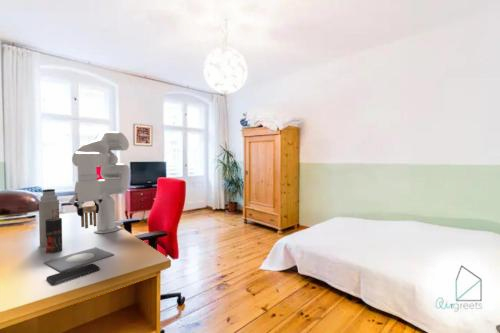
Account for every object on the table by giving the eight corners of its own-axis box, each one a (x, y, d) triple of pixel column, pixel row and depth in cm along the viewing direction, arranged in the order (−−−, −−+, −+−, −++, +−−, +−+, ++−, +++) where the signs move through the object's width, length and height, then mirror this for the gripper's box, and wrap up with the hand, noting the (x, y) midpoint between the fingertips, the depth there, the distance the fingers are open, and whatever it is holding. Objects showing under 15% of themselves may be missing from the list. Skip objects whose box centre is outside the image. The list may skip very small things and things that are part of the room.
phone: (100, 268, 94) (52, 283, 82) (100, 271, 94) (52, 286, 82) (92, 263, 99) (45, 276, 87) (92, 265, 99) (45, 279, 87)
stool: (92, 223, 125) (92, 204, 124) (99, 225, 121) (98, 206, 121) (78, 226, 119) (77, 206, 119) (84, 229, 116) (84, 208, 115)
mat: (95, 248, 117) (95, 247, 117) (113, 255, 109) (113, 253, 109) (44, 263, 100) (44, 261, 100) (60, 272, 92) (60, 270, 92)
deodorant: (65, 249, 116) (64, 218, 116) (51, 254, 110) (51, 221, 110) (56, 248, 118) (56, 217, 118) (43, 252, 112) (42, 220, 112)
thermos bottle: (63, 242, 127) (62, 188, 127) (48, 247, 119) (47, 190, 119) (51, 241, 129) (50, 188, 128) (35, 246, 121) (34, 190, 120)
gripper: (101, 176, 128) (102, 209, 129) (63, 179, 113) (64, 217, 114) (109, 177, 124) (110, 211, 125) (70, 180, 109) (71, 219, 110)
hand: (88, 213), depth 120 cm, fingers closed on stool, 6 cm apart
